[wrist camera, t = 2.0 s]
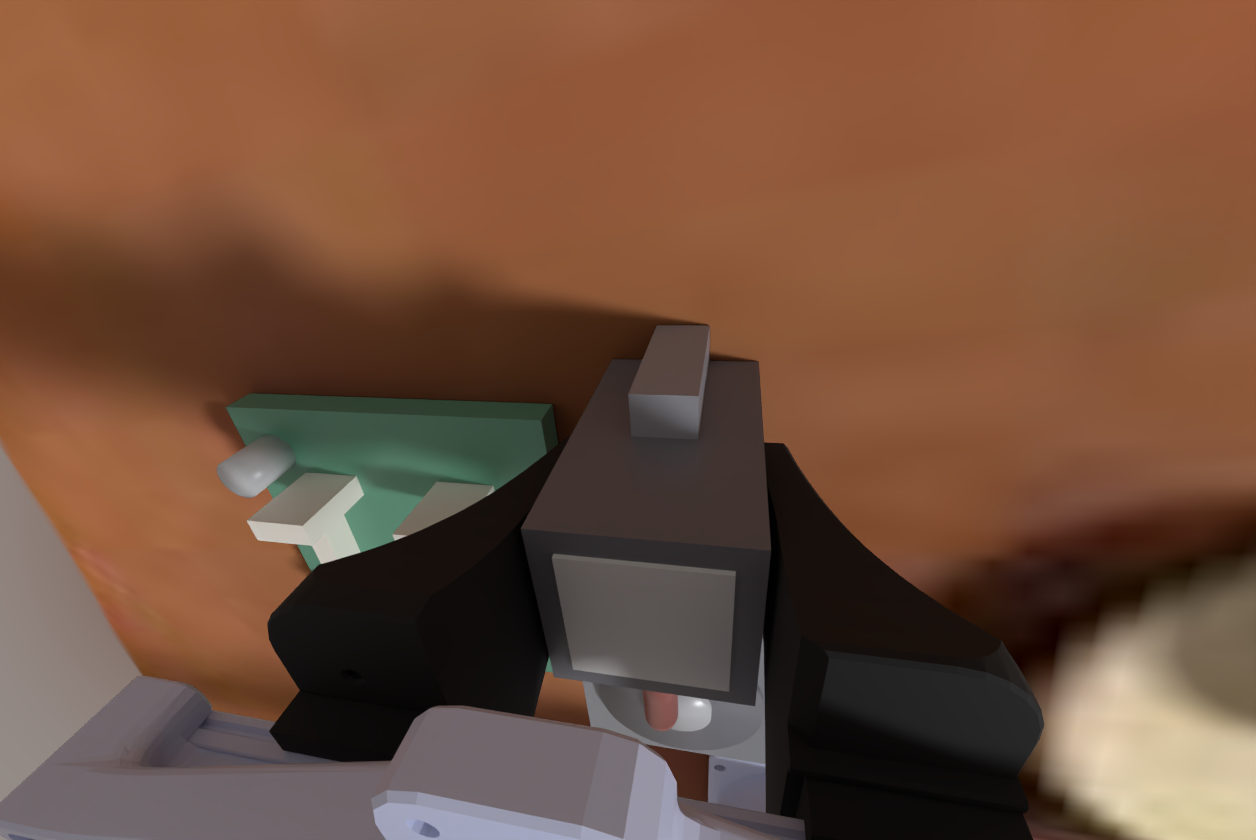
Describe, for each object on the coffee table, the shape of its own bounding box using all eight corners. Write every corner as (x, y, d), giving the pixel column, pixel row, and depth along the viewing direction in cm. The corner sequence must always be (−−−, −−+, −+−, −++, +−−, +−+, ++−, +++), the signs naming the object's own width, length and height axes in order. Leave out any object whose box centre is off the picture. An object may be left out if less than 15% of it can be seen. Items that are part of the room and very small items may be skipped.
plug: (745, 549, 17) (747, 786, 11) (628, 539, 18) (569, 755, 12) (761, 325, 13) (777, 502, 7) (609, 325, 14) (507, 483, 8)
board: (591, 655, 21) (567, 740, 18) (362, 624, 24) (308, 696, 21) (551, 404, 15) (507, 471, 12) (250, 393, 18) (150, 448, 15)
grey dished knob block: (773, 702, 21) (777, 784, 18) (606, 678, 22) (588, 751, 20) (799, 503, 16) (810, 577, 13) (579, 488, 17) (550, 552, 14)
